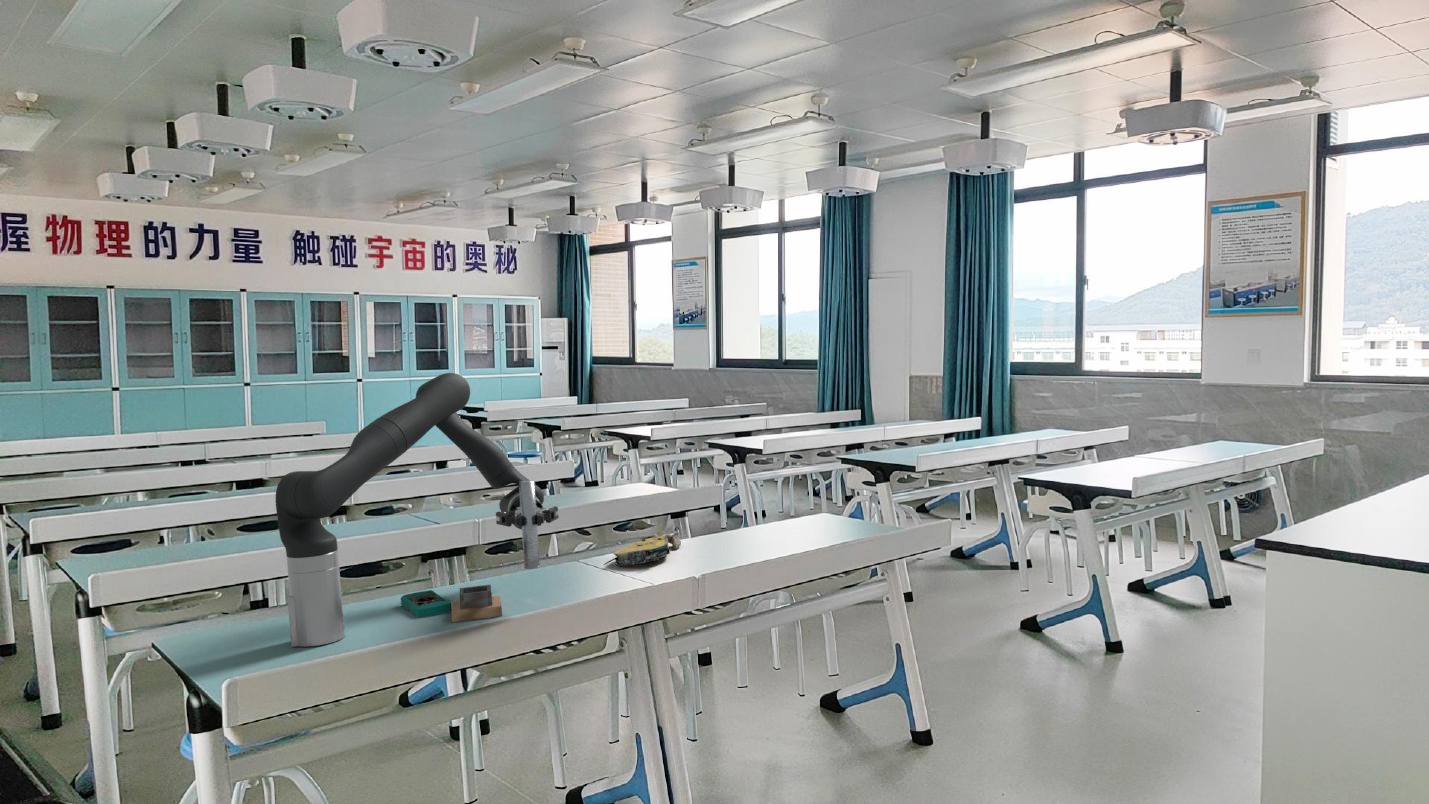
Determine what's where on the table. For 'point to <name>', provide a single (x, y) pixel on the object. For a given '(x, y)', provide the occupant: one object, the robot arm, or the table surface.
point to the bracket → (476, 604)
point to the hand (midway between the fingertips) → (530, 521)
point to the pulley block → (646, 550)
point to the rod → (529, 524)
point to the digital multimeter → (425, 603)
